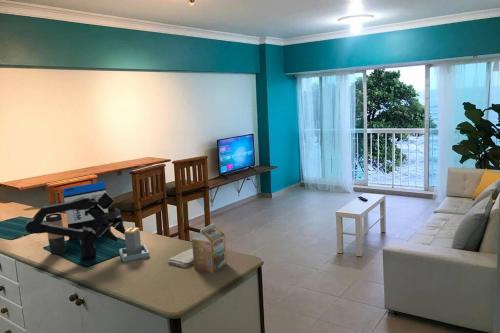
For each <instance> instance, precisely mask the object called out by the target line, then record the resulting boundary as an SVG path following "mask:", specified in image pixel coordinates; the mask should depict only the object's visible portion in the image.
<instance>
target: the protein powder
mask: <svg viewBox="0 0 500 333" xmlns="http://www.w3.org/2000/svg"><path fill="white" fill-rule="evenodd" d="M62 191H63V192H62V193H63V194H62V195H63V201H64V202H63V203H65V202H70V201H73V200H75V199H77V198H80V197H83V196H88V197H90V198H93V199H97V200H98V199H99V198H100V197H101V196H102V195H103V193H105V192H106V193H107V188H106V181H105V180H104V181H98V182H94V183H87V184H81V185H75V186H70V187H64V188H62ZM93 207H94V206H93ZM99 207H100V208H101V209H102V210H103V211H104V212H105V213H106V212H108V213H109V208H108V209H103V208H102V207H101V206H100V205H99ZM87 210H89V209H87ZM65 215H66V221H67V222H66V223H67V227H68V228H73V229H83V226H84V227H87V228H92V229H93V230H94V231H95V232H96V231H97V230H98V228H99V227H100V226H101V225H100V224H99V223H98V224H96V223H95V222H96V220H95V219H94V218H93V217H92V216H91V215H90V214H89V215H88V216H85V210H69V211H65ZM70 239H71V240H76V239H75V238H73V237H68V240H69V241H70Z"/></svg>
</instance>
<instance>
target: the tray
mask: <svg viewBox="0 0 500 333" xmlns="http://www.w3.org/2000/svg"><path fill="white" fill-rule="evenodd" d="M118 250H119V255H120V257H121V261H122V263H128V262H132V261H138V260H142V259H147V258H150V251H149V250H148V248H147V246H146V244H141V251H142V252H141V253H139V254H134V255H129V256H127V253H126V247H124V248H119V249H118Z"/></svg>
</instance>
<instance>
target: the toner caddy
mask: <svg viewBox="0 0 500 333" xmlns="http://www.w3.org/2000/svg"><path fill="white" fill-rule="evenodd" d="M125 230H126V231H125V233H124V234H125V235H124V234H123V235H124V241H125V248H126V253H127V256H129V255H134V254H139V253H141V252H142V251H141V245H142V243H141V241H142V240H141V232H140V228H139V227H135V226H132V227H129V228H127V229H125Z"/></svg>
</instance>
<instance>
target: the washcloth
mask: <svg viewBox="0 0 500 333" xmlns="http://www.w3.org/2000/svg"><path fill="white" fill-rule="evenodd" d="M168 264H170V265H172V266H177V267H181V268H189V267H190V266H192V265H194V260H193V248H190V249H187V250H184V251H183V252H180V253H178V254H177V255H174V256H172V257H170V258H168Z"/></svg>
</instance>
